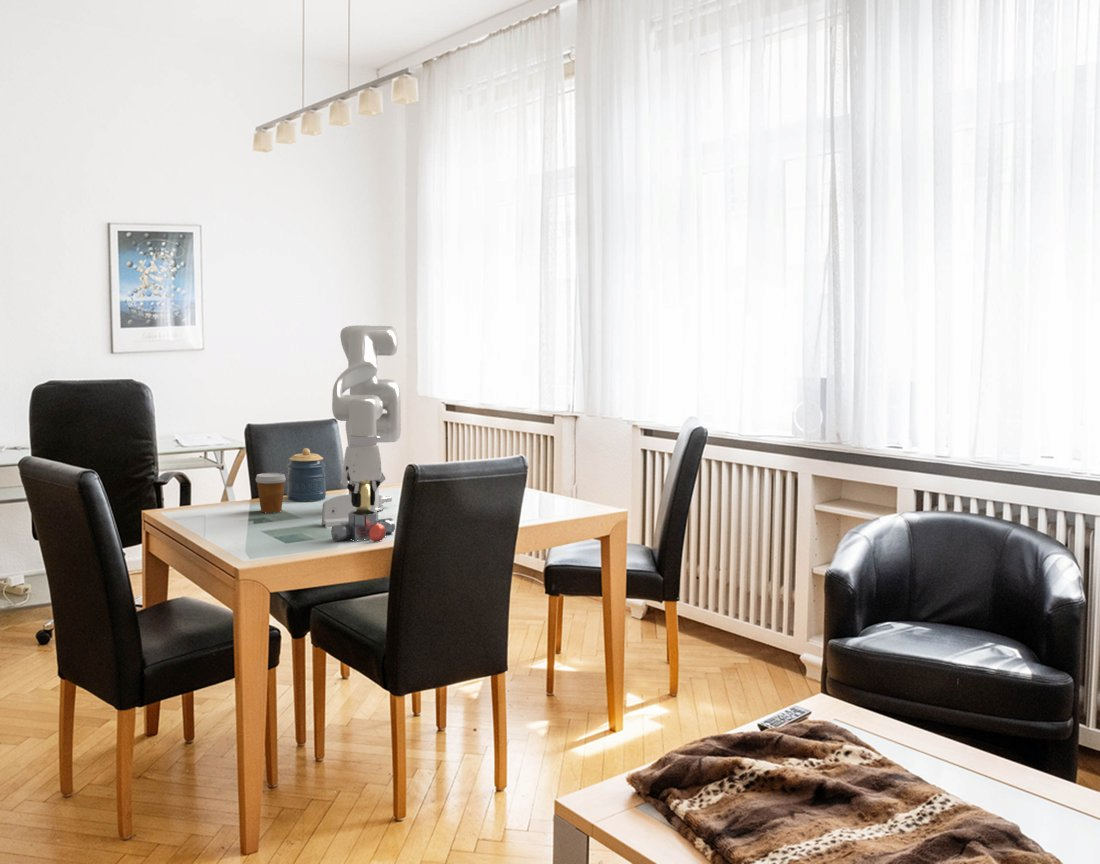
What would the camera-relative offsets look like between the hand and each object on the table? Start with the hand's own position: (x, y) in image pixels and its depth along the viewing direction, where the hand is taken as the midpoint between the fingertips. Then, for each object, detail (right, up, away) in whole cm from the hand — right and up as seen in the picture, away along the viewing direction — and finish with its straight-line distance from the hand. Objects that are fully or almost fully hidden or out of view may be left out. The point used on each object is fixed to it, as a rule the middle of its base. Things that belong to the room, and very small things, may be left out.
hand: (363, 505), depth 279 cm
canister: (-31, -3, +61) cm, 68 cm away
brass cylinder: (0, -4, 0) cm, 4 cm away
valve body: (+1, -9, -1) cm, 9 cm away
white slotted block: (-8, -8, +20) cm, 22 cm away
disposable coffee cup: (-36, -5, +37) cm, 52 cm away
